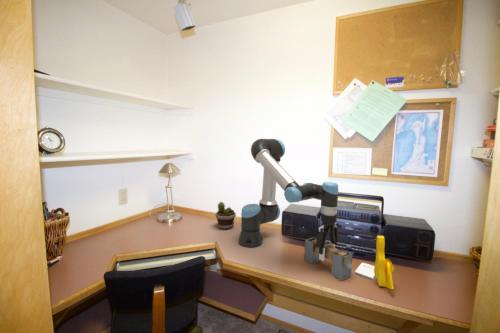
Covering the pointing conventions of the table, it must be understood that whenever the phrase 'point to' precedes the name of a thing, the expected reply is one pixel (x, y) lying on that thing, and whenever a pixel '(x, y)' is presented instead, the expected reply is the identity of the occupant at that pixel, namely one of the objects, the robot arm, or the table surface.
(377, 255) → the figure statuette
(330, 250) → the rail
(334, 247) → the robot arm
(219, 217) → the flowerpot
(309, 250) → the bracket left
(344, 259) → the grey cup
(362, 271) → the external hard drive
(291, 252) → the table surface
